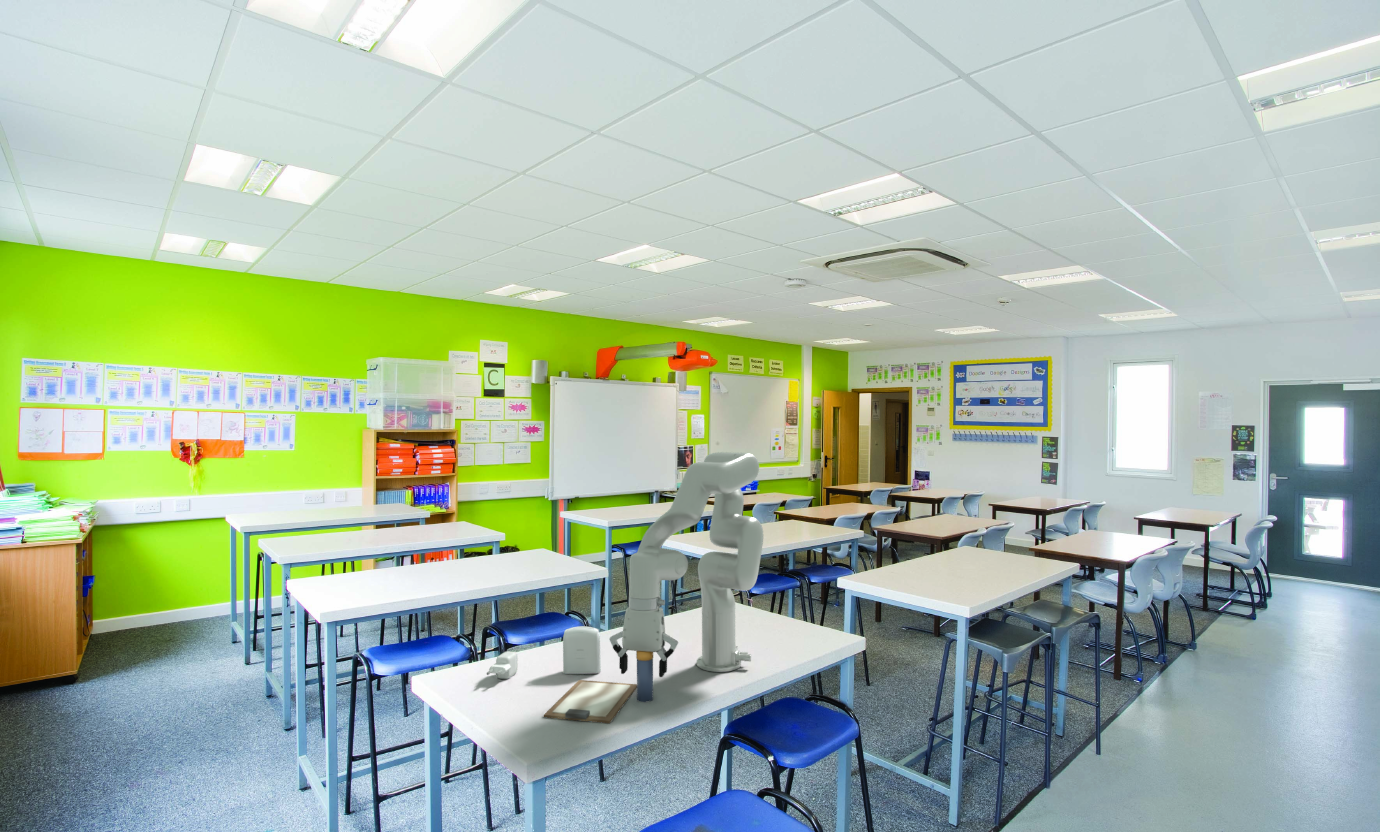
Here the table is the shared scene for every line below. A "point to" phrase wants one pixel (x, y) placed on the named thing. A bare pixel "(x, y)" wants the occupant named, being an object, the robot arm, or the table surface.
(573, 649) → the photo printer
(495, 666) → the power adapter
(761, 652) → the table surface
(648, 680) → the cylinder
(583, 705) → the clipboard
